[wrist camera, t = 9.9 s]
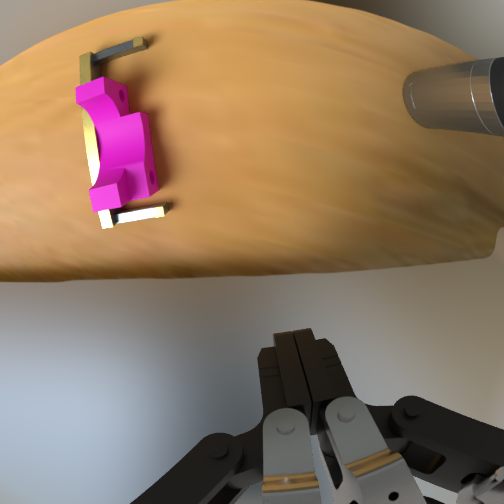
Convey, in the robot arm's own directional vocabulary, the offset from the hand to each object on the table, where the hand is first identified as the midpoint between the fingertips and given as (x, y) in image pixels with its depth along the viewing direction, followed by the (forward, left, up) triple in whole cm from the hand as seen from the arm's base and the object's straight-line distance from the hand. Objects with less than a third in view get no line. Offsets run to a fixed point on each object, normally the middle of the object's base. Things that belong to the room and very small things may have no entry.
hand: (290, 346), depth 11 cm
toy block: (+15, -11, -27) cm, 33 cm away
